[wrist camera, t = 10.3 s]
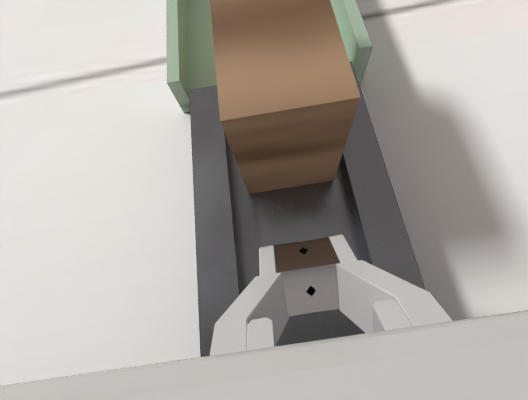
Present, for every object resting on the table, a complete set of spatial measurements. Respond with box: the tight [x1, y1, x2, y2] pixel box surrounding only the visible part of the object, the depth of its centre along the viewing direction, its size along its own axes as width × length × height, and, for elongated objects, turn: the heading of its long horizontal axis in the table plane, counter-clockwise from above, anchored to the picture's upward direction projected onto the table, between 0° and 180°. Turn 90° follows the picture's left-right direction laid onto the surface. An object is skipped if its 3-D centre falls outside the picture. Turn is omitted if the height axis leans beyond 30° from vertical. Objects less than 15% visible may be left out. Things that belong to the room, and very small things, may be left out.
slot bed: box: [190, 61, 425, 357], centre depth 15 cm, size 22×11×2 cm, turn 7°
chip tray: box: [167, 0, 372, 113], centre depth 21 cm, size 14×13×3 cm
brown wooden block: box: [210, 0, 361, 194], centre depth 15 cm, size 10×5×7 cm, turn 7°
